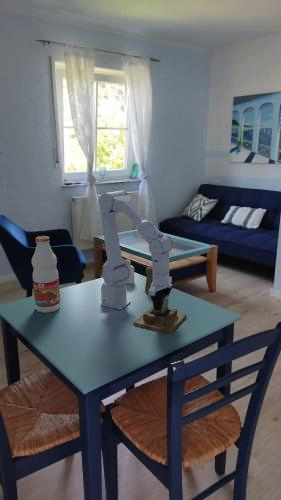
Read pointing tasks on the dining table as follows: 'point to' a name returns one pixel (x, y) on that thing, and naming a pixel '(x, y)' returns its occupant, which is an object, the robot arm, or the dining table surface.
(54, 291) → the fruit juice
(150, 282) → the cork
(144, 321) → the socket holder
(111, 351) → the dining table surface
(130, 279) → the eye dropper bottle
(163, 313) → the metal pin
